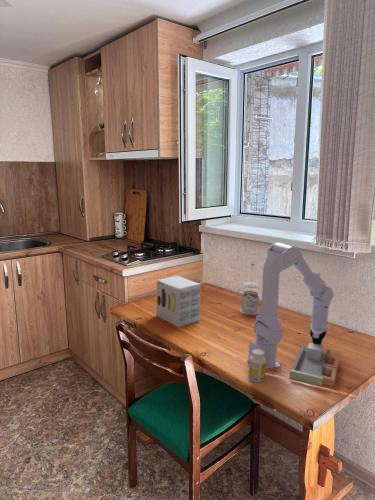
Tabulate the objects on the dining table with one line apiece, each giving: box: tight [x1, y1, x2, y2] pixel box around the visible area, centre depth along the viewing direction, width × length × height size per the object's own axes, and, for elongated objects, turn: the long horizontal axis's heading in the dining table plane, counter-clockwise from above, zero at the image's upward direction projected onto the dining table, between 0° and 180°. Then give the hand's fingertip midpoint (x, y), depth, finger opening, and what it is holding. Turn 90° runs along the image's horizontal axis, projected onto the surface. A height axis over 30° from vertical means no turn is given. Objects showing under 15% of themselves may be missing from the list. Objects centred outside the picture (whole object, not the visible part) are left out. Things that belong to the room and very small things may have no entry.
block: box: [306, 342, 324, 361], centre depth 140 cm, size 5×5×4 cm
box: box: [289, 344, 340, 388], centre depth 133 cm, size 23×14×3 cm, turn 153°
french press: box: [236, 262, 261, 316], centre depth 186 cm, size 10×12×25 cm
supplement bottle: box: [248, 349, 267, 383], centre depth 125 cm, size 5×5×10 cm
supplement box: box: [155, 275, 202, 328], centre depth 175 cm, size 17×13×18 cm
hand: (316, 348), depth 145 cm, fingers closed
